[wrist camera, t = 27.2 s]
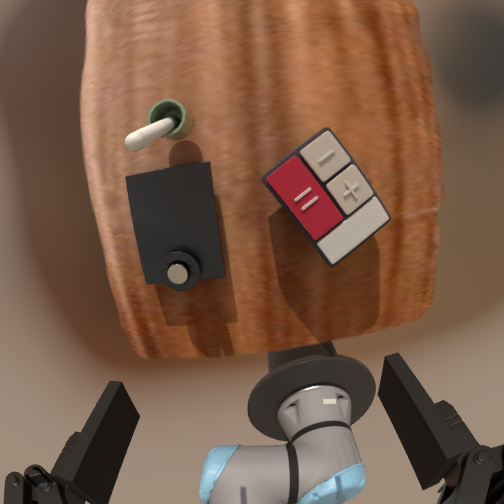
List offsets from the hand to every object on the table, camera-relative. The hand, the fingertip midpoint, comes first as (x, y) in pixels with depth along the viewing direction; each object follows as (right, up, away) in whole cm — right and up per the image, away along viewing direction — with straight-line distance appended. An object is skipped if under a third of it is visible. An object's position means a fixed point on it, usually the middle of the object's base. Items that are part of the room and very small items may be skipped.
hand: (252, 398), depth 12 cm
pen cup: (-10, +24, +22) cm, 34 cm away
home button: (-10, +4, +26) cm, 28 cm away
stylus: (-10, +24, +21) cm, 34 cm away
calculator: (+10, +15, +25) cm, 31 cm away
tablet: (-11, +11, +26) cm, 30 cm away
